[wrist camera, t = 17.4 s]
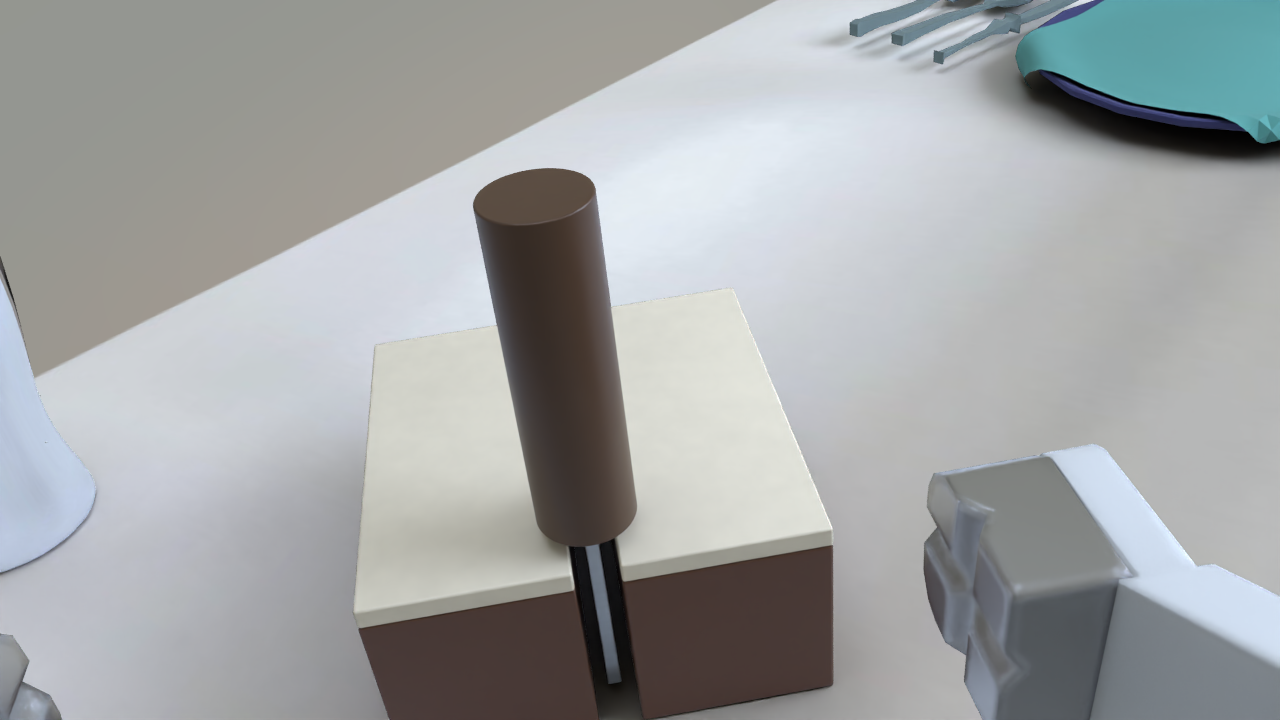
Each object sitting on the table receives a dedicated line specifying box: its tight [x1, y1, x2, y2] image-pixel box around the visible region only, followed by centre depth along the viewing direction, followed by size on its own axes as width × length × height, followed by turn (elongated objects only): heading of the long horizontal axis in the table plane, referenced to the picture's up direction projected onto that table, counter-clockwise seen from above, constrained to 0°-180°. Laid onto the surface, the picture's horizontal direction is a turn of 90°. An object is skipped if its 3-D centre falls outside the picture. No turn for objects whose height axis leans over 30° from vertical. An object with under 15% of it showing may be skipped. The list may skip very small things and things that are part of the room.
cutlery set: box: [850, 0, 1280, 143], centre depth 65 cm, size 20×30×2 cm, turn 39°
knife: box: [473, 168, 637, 684], centre depth 33 cm, size 13×3×15 cm, turn 8°
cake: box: [353, 288, 833, 720], centre depth 35 cm, size 12×12×6 cm
